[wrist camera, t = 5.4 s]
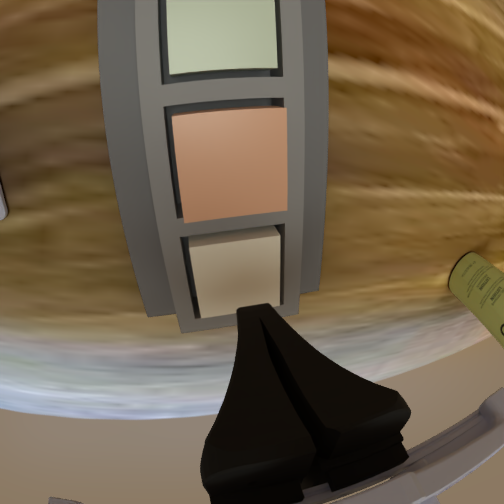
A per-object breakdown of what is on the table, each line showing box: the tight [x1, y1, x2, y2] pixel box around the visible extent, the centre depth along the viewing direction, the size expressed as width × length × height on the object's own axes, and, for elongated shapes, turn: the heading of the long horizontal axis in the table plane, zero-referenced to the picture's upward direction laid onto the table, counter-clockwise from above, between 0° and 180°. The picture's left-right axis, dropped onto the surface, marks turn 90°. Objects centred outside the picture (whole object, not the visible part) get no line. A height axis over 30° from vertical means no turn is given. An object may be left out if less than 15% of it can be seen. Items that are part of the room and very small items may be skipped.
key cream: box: [188, 225, 280, 318], centre depth 17 cm, size 5×5×2 cm
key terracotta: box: [172, 106, 288, 223], centre depth 13 cm, size 5×5×2 cm
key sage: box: [166, 0, 278, 77], centre depth 11 cm, size 5×5×2 cm
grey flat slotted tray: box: [98, 0, 328, 333], centre depth 14 cm, size 12×27×3 cm, turn 2°
